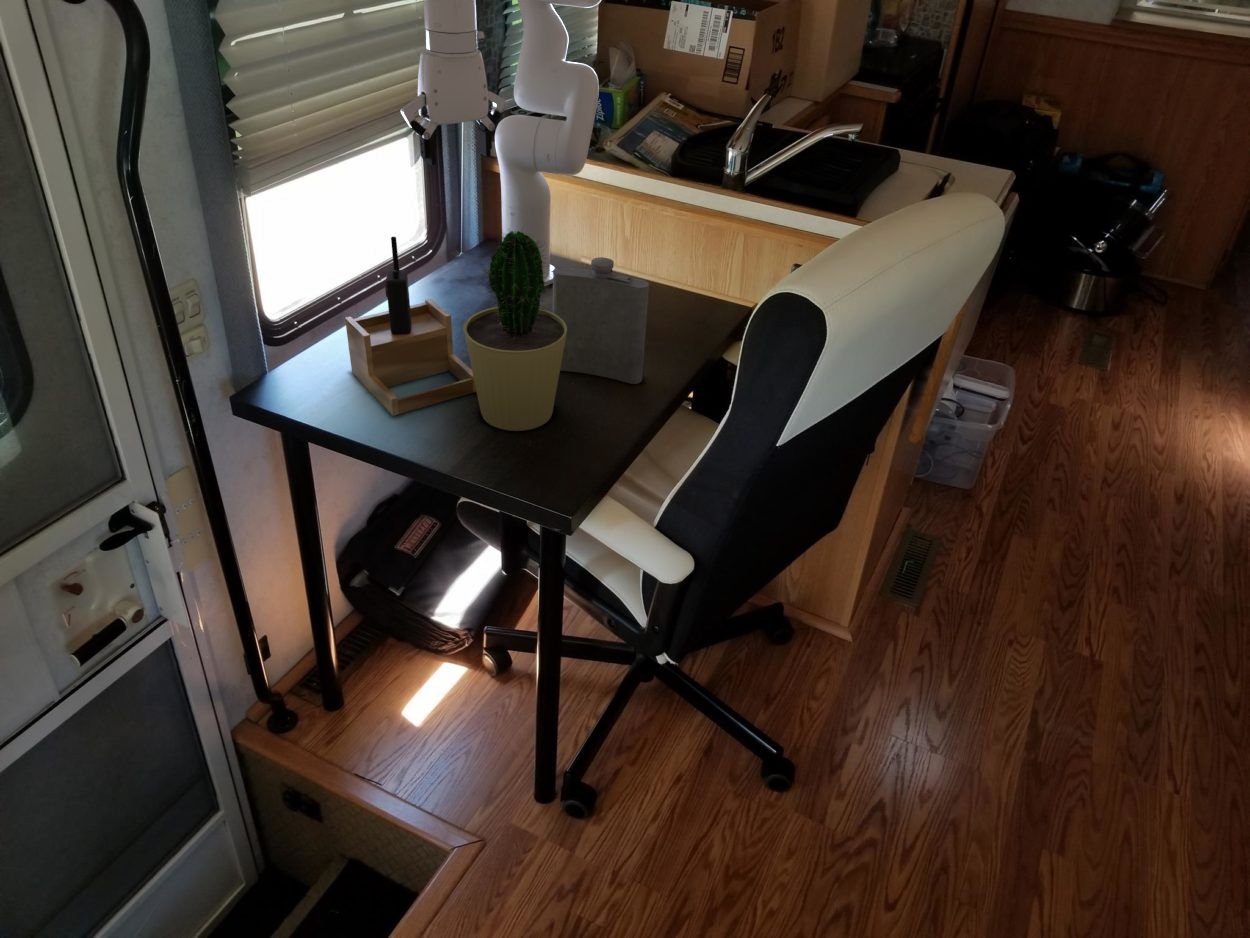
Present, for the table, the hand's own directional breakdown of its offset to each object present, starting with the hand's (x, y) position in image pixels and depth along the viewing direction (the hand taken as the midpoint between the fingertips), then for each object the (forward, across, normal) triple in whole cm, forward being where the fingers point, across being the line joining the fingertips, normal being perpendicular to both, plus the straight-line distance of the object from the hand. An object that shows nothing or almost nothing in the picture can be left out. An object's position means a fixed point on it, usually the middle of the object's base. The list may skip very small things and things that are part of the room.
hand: (457, 158), depth 147 cm
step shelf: (+32, +14, +8) cm, 36 cm away
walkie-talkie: (+24, +14, +4) cm, 29 cm away
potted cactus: (+32, +4, +25) cm, 41 cm away
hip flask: (+32, -14, +21) cm, 41 cm away
